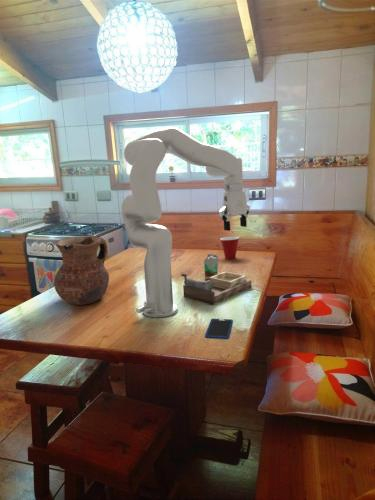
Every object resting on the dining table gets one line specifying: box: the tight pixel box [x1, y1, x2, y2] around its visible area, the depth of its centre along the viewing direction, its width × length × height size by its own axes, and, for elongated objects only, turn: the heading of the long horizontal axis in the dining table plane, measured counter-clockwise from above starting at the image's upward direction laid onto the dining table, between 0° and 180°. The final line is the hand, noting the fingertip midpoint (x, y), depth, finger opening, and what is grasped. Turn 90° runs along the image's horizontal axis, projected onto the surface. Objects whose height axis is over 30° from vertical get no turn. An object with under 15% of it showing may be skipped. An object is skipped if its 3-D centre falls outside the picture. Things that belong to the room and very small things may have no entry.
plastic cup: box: [219, 236, 240, 260], centre depth 203 cm, size 11×11×12 cm
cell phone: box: [204, 318, 234, 340], centre depth 114 cm, size 7×14×1 cm, turn 167°
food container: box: [203, 253, 220, 281], centre depth 168 cm, size 12×6×10 cm, turn 168°
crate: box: [209, 271, 247, 289], centre depth 152 cm, size 11×11×4 cm
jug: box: [53, 235, 110, 306], centre depth 144 cm, size 22×21×25 cm
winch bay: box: [181, 273, 252, 306], centre depth 147 cm, size 27×16×10 cm, turn 137°
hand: (235, 228), depth 153 cm, fingers open, 9 cm apart
